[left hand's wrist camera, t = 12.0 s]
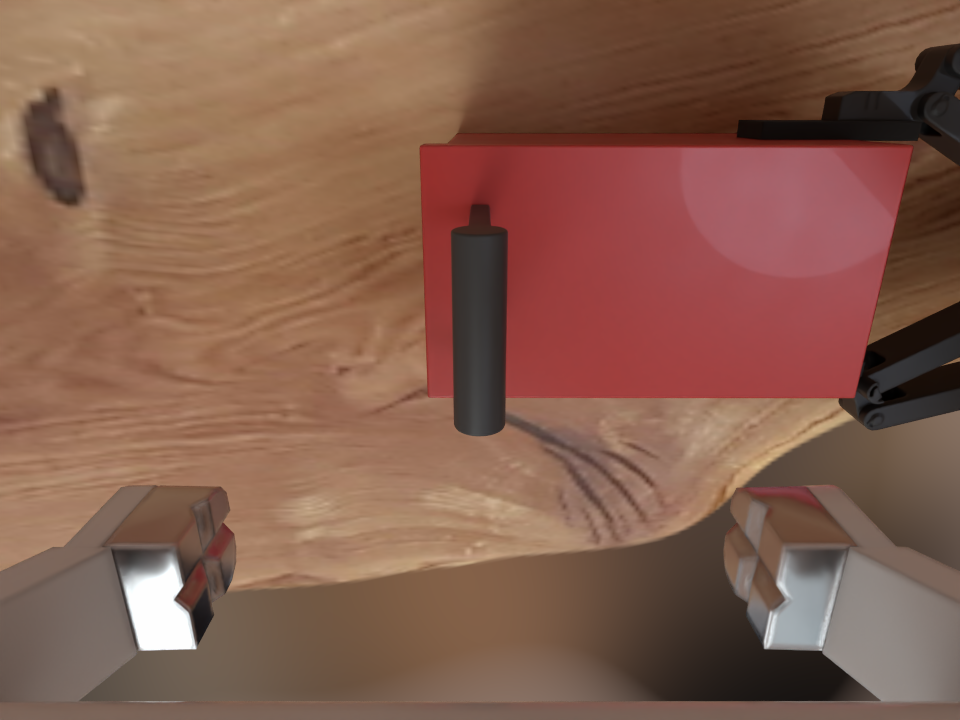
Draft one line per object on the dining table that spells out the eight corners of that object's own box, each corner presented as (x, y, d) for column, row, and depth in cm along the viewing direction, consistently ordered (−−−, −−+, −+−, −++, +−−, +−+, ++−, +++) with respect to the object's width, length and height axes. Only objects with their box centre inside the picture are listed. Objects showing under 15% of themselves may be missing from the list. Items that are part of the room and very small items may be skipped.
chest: (458, 314, 37) (450, 386, 28) (456, 133, 34) (446, 143, 24) (747, 314, 37) (839, 386, 28) (776, 133, 34) (894, 143, 24)
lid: (430, 386, 28) (410, 491, 20) (422, 143, 24) (394, 159, 16) (840, 387, 28) (975, 492, 20) (895, 143, 24) (1085, 159, 16)
